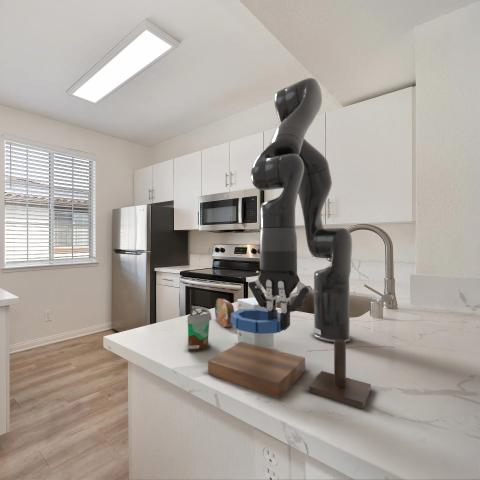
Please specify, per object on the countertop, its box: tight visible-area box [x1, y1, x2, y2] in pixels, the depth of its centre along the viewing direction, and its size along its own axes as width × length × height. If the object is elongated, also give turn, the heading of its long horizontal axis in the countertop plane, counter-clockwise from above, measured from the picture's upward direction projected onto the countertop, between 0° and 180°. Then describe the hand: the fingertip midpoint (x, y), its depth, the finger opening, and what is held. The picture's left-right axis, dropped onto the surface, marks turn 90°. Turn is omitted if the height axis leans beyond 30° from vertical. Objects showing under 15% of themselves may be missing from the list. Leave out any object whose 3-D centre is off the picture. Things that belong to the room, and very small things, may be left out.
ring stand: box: [308, 339, 372, 410], centre depth 60 cm, size 9×9×10 cm
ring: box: [231, 309, 283, 334], centre depth 68 cm, size 11×11×2 cm
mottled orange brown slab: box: [214, 297, 235, 328], centre depth 106 cm, size 15×3×8 cm, turn 5°
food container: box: [187, 305, 212, 353], centre depth 85 cm, size 12×6×10 cm, turn 168°
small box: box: [236, 297, 275, 350], centre depth 83 cm, size 8×6×13 cm
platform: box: [207, 342, 306, 400], centre depth 68 cm, size 16×16×3 cm
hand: (278, 328), depth 65 cm, fingers closed on ring, 1 cm apart
